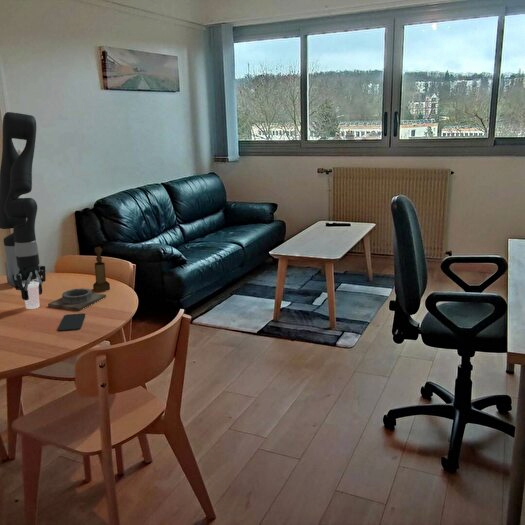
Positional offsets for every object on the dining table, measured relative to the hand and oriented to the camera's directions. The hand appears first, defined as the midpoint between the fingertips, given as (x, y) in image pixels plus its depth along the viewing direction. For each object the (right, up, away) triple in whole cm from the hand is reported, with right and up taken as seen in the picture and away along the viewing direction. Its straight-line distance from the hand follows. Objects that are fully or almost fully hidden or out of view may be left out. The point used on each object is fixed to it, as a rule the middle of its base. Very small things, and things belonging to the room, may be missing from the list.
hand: (32, 296), depth 194 cm
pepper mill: (+19, +1, +21) cm, 29 cm away
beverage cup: (0, -4, +1) cm, 4 cm away
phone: (+20, -8, -14) cm, 26 cm away
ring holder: (+15, -2, +6) cm, 16 cm away
